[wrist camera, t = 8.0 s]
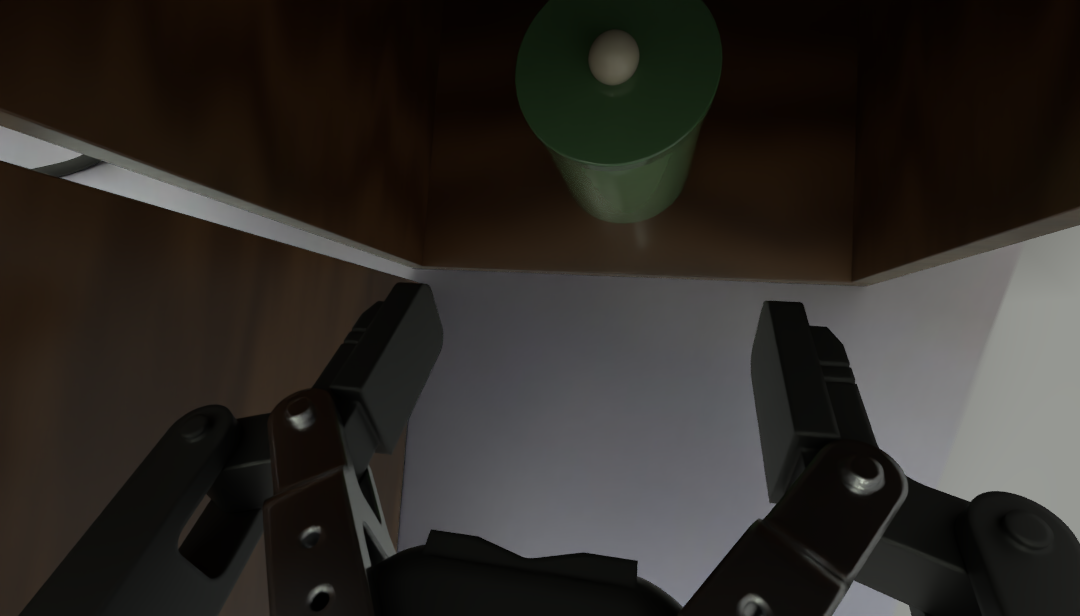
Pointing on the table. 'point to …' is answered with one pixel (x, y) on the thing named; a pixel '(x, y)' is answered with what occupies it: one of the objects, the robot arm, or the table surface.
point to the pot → (620, 97)
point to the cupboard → (525, 164)
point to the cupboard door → (145, 356)
